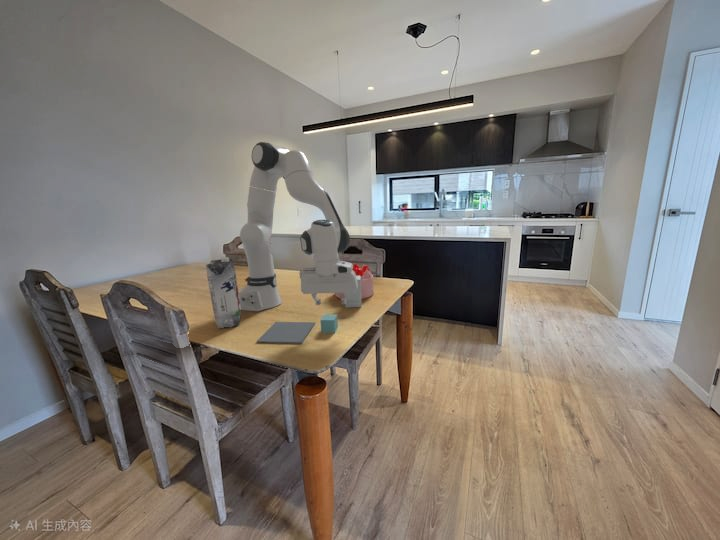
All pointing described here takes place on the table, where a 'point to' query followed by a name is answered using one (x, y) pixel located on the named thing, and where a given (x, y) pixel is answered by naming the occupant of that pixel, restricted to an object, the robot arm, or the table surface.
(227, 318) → the juice carton
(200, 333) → the table surface
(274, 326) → the charcoal mat
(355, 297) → the supplement box
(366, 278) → the cake
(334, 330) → the teal cube
